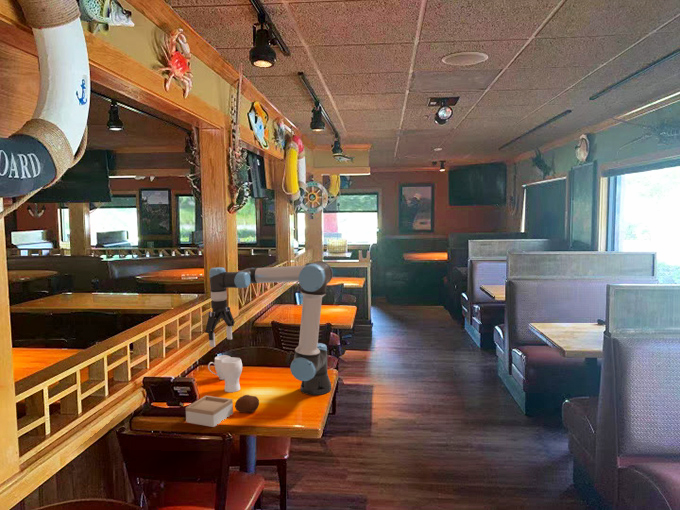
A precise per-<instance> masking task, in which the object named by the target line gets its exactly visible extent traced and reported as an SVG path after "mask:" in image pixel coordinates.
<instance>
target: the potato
mask: <svg viewBox="0 0 680 510" xmlns="http://www.w3.org/2000/svg"><path fill="white" fill-rule="evenodd" d="M259 406H260V400H259V398H258V397H257V396H256V395H254V396H253V395H249V394H245V395H242V396H240V397H239V398H238V399H237V400H236V402H235V404H234V408H235V410H236V411H237V412H239V413H246V414H247V413H253V412H255V411H256V410H258V408H259Z"/></svg>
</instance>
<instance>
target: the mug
mask: <svg viewBox="0 0 680 510" xmlns="http://www.w3.org/2000/svg"><path fill="white" fill-rule="evenodd" d="M226 358H232V357H231V356H230V355H227V354H226V355H225V354H223V355H217V356H215V357H214V362H213V361H210V362H209V363H208V364H207V368H208V370H209V372H211V373H212V374H214V376H218V379H219V380H220V381H221V380H222V381H225V379H224V377H223V375H222V373H221V368H220V366H221V361H222V360H223V359H226ZM211 364H213V365H214V369H215V372H216V373H215V372H214V371H212V370H211V367H210V366H211Z"/></svg>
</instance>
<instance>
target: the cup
mask: <svg viewBox="0 0 680 510" xmlns="http://www.w3.org/2000/svg"><path fill="white" fill-rule="evenodd" d="M220 368H221V373H222V375H223V377H224V379H225V380H224V392H225V393H236V392H239V391H240V390H241V385H240V377H241V374H242V371H243V363H242V359H241V358H240V357H234V356H233V357H231V358H226V359H223V360H222V361H221V366H220Z"/></svg>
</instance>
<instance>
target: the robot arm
mask: <svg viewBox="0 0 680 510" xmlns="http://www.w3.org/2000/svg"><path fill="white" fill-rule="evenodd" d="M333 274H334V273H333V269H332V267H331V265H330V264H329V263H327V262H325V261H322V260H319V261H316V262H308V263H307V262H306V263H305V265H289V266H275V267H274V266H273V267H272V266H271V267H247V268H245V269H242V270H238V271H226V268H225V267H222V266H221V267H220V266H218V267H211V268H210V269H209V287H210V300H211V301H210V307H211V309H212V311H208V318H207V323H206V326H205V329H204V330H205V331H204V332H205V334H208V340H209V347H211V348H215V347H216V335H215V329H216V327H217V324H218V322H219V321H220V320H221V319H222V320H223V321H224V322H225V324H226V326H225V327H226V340H233V327H234V326H235V320H234V317H233V314H232V312H231V307H229V306H228V300H227V299H228V293H227V289H231V288H233V289H245V288H246V289H247V288H248V287H249V286H250V285H251V284H265V283H266V284H267V283H291V282H298V284H299V286H300V292H299V293H300V294H301V295H302V296H303V297H302V307H301V315H300V316H301V317H300V327H299V329H300V330H299V341H298V346H297V347H296V348H295V349H294V357H293V360H292V361H291V363H290V367H289V369H290V372H291V375H292V376H293V377H294V378H295V379H296V380H298V381H301V383H300V392H302V394H305V395H308V396H309V395H311V396H317V395H318V396H320V395H324V394H325V395H326V394H328V393H330V392H331V391H332V383H331V379H330V377H329V374H328V347H327V346H328V345H326V344H325V343H321V342H319V333H320V325H321V323H320V321H321V312H322V301H323V298H324V297H325V296H326V295H327V285H328V284H329V283H330V282H331V280H332V279H333V276H334V275H333Z"/></svg>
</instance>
